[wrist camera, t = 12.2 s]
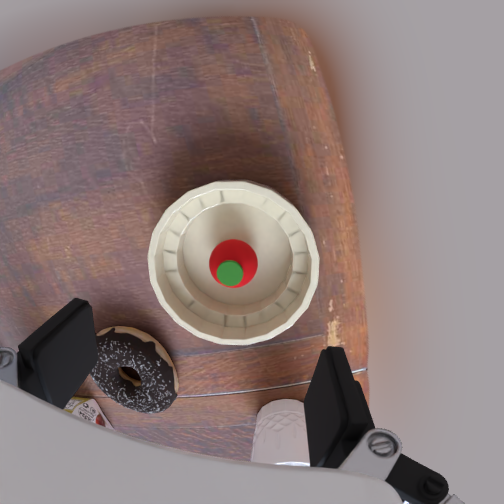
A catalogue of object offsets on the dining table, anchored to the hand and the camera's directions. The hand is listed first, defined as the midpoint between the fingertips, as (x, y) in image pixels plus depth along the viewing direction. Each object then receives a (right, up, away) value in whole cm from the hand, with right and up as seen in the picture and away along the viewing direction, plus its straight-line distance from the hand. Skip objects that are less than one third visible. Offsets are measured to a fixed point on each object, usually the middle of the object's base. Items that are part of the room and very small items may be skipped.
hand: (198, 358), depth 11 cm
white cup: (+6, -16, +22) cm, 28 cm away
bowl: (+1, +4, +16) cm, 17 cm away
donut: (-11, -9, +21) cm, 25 cm away
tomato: (+1, +4, +16) cm, 16 cm away
